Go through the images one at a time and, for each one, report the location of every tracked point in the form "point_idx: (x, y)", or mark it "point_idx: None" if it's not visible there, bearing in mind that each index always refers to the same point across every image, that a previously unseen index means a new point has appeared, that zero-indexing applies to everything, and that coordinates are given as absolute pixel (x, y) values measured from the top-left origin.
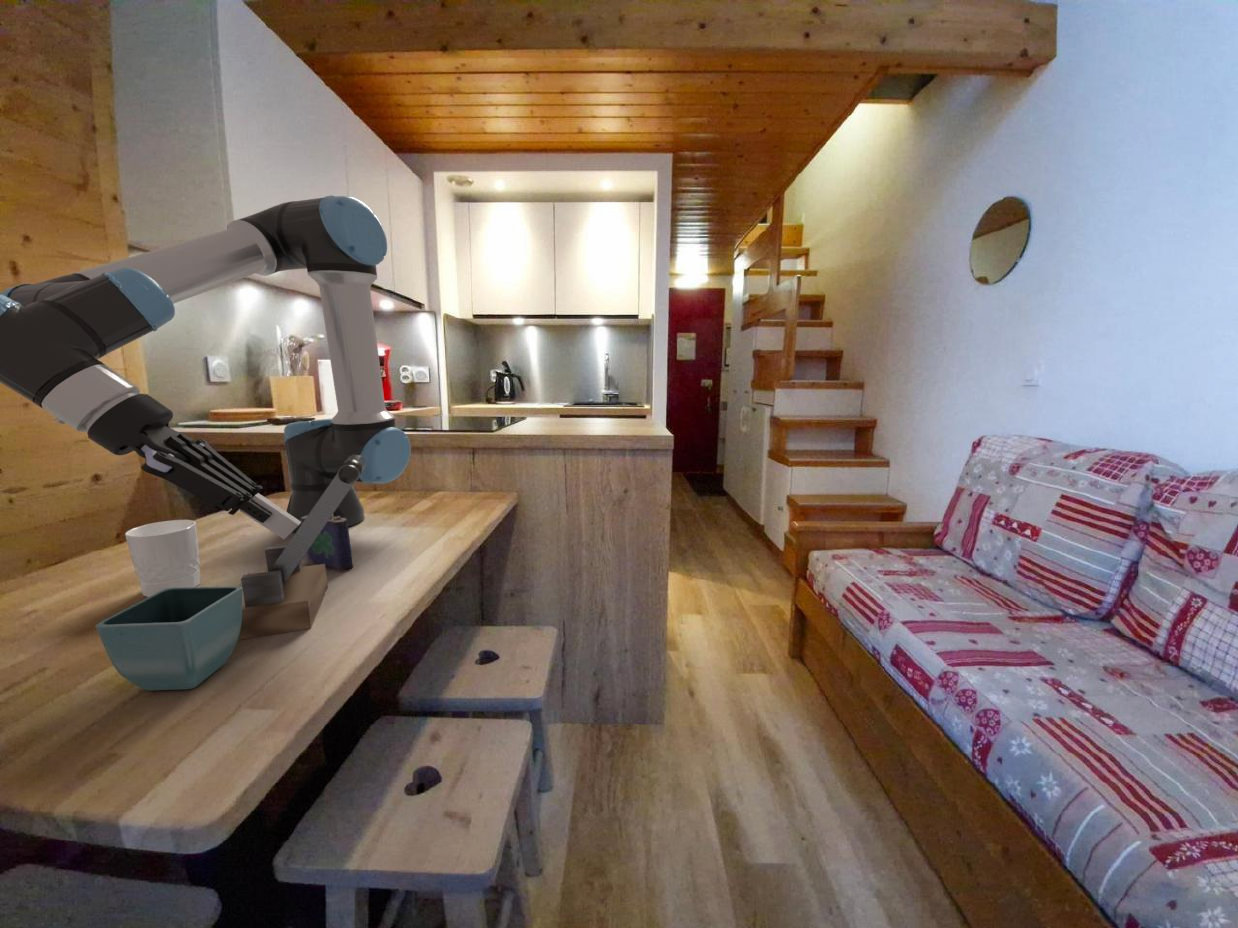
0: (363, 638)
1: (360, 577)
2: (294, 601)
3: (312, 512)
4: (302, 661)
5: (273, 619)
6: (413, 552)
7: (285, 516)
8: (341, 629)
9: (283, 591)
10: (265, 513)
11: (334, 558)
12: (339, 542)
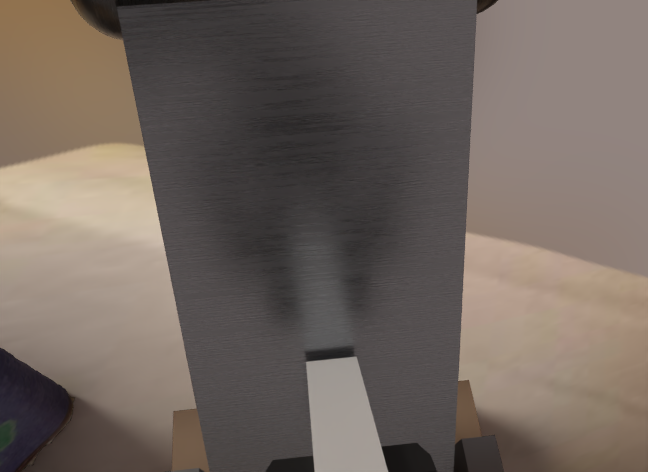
0: (514, 273)
1: (149, 349)
2: (469, 416)
3: (461, 233)
4: (602, 374)
5: None
6: (7, 233)
7: (366, 394)
8: (467, 327)
9: None
10: (430, 464)
11: (29, 433)
12: (24, 387)
